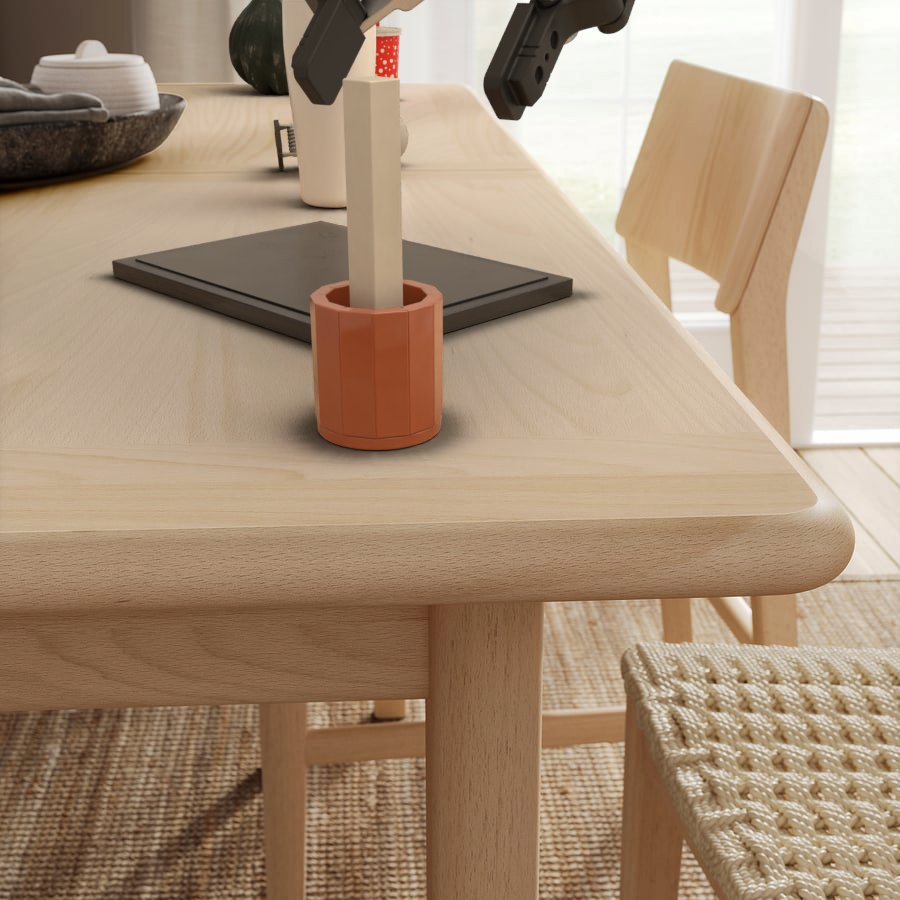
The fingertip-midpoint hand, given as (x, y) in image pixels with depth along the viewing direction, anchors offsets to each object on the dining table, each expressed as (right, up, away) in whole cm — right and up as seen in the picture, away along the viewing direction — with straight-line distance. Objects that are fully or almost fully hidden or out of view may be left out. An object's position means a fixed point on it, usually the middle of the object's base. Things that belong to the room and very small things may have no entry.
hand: (400, 98), depth 44 cm
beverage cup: (-7, +33, +110) cm, 115 cm away
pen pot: (-1, -12, +3) cm, 13 cm away
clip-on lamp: (-8, +13, +63) cm, 64 cm away
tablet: (-5, -4, +24) cm, 24 cm away
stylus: (-1, -12, +3) cm, 12 cm away
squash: (-21, +37, +120) cm, 128 cm away
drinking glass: (-7, +6, +46) cm, 47 cm away
